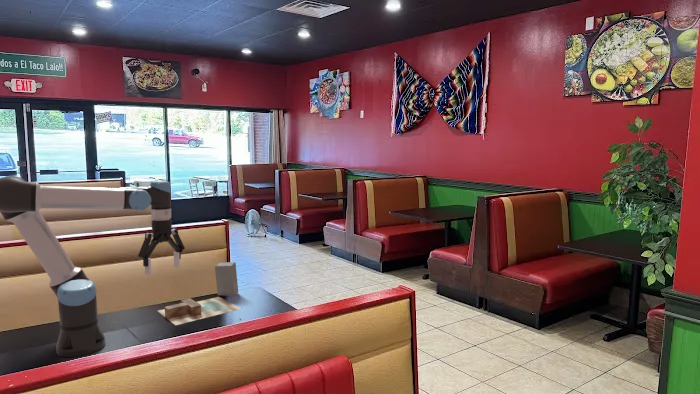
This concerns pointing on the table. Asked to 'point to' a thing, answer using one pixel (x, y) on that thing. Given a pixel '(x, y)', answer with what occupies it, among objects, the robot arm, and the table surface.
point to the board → (205, 310)
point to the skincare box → (226, 278)
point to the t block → (183, 309)
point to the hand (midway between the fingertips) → (162, 270)
